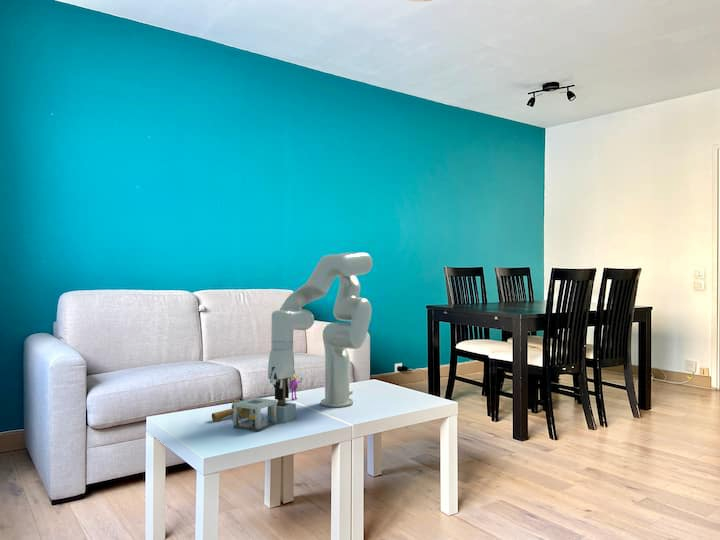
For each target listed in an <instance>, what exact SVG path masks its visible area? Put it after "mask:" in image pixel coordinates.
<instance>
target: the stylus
mask: <svg viewBox="0 0 720 540" xmlns="http://www.w3.org/2000/svg"><path fill="white" fill-rule="evenodd" d="M277 382H279V381H277ZM285 385H286V378H285V379H283V382H282V388H283V400H277V402H278V406H281V407H284V406H285V403H286V398H285Z"/></svg>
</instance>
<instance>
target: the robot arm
mask: <svg viewBox="0 0 720 540" xmlns="http://www.w3.org/2000/svg"><path fill="white" fill-rule="evenodd" d="M372 268H373V259H372V256H371V255H370V254H369V253H367V252H342V253H338V254H327V255H323V256H322V257H321V258H320V260H319V261H318V263H317V264H316V266H315V268H314V269H313V270H312V271H313V272H312V273H311V274H310V275H309V278H308V280H307V281H306V283H304V284H303V285H301V286H299V288H298V289H296V290H295V291H293V292H292V293H291V294H290V295H289V296H288V297H286V299H285V300H284V302H283V303H282V305H281V307H280V308H279V309H277V310H274V311H272V313H271V339H270V340H271V341H270V342H271V343H270V344H271V350H270V351H269V356H268V357H269V358H268V366H267V378H268V379H269V383H270V384H272V385H273V388H274V400H277V401H278V400H283V388H282V382H283V379H285V378H286V385H285V399H289V398H290V391H289V390H290V388H289V386H290V381H291V380H292V378H293V375H294V370H295V356H294V331H306V330H309V329H311V327H312V326H313V325H314V322H315V316H314V314H313V313H312V311H310V310H308V309H303V307H304V306H305V305H307V304H309V303H311V302H314V301H317V300H319V299H321V298H323V297H324V296H326V295H327V292H328V291H329V289H330V287H331V286H332V284H333V282H334V280H336V278H337V277H338V279H339V287H338V292H337V296H336V298H335V303H334V305H333V311H332V312H333V316H334V318H335V319H336V320H338V321H341V322H329V323H328V324H326V326H324V329H322V330H323V331H322V341H323V347H324V359H325V360H324V398H322V399H321V400H320V404H321V405H322V406H325V407H329V408H342V407H348V406H352V405H353V404H354V400H353V399H352V398H350V396H351V395H353V393H354V392H353V390H352V389H350V355H349V351H347V349H351V350H357V349H360V348H361V347H362V346H363V345H364V343H365V340H366V337H367V334H368V330H369V325H370V323H371V320H372V319H371V318H372V313H373V312H372V311H373V310H372V309H373V308H372V305H371V302H370V301H369V300H368V299H367V298H364V297H360V292H361V284H360V282H359V279H358V277H357V276H361V275H366V274H368V273H369V272H370V271H371V269H372ZM342 321H344V322H342ZM346 322H350V323H346ZM278 381H279V382H278Z"/></svg>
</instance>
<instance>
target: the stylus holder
mask: <svg viewBox="0 0 720 540" xmlns="http://www.w3.org/2000/svg"><path fill="white" fill-rule="evenodd" d="M271 408H272V405H271V406H268V407H267V419H266V420H271ZM296 413H297V403H294V402H293V403H292V402H285V406H284V407H281V406H278V401H277V413H276V423H282V424H285V423H287V422H291V421H292V420H294V419H296V418H297V415H296Z"/></svg>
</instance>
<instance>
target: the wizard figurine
mask: <svg viewBox="0 0 720 540" xmlns="http://www.w3.org/2000/svg"><path fill="white" fill-rule="evenodd" d="M297 374H298V372H296V371H295V369H294V375H293V378H292V379H291V381H290V386H288V387H289V390H290V391H291V400H292V401H294V400H297V399H298V397H297V389H298V388H299V387H298V386H299V383H302V382H303V378H302V376H301V377H300V380H299V381H297V378H298V376H297Z"/></svg>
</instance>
